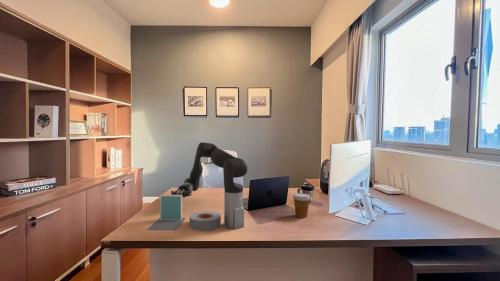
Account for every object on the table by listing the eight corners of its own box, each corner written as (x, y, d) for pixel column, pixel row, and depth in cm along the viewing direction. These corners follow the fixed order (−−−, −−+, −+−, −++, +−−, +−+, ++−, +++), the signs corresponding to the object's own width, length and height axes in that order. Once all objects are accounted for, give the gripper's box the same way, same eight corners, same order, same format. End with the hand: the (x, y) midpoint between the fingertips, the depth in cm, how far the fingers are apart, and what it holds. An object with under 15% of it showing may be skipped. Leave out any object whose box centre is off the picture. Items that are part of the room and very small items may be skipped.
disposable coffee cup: (290, 217, 143) (290, 195, 143) (295, 212, 152) (296, 192, 151) (307, 219, 139) (307, 197, 138) (311, 215, 147) (312, 194, 147)
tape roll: (187, 222, 133) (187, 212, 133) (216, 219, 139) (216, 209, 139) (191, 233, 119) (191, 222, 119) (224, 229, 125) (224, 218, 124)
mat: (186, 218, 139) (186, 217, 139) (176, 231, 121) (176, 230, 121) (160, 218, 139) (160, 217, 139) (146, 230, 121) (146, 229, 121)
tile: (182, 219, 136) (182, 194, 136) (181, 220, 135) (181, 195, 134) (161, 219, 137) (161, 194, 136) (160, 220, 135) (160, 195, 134)
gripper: (174, 183, 163) (165, 190, 146) (195, 184, 163) (188, 190, 145) (174, 195, 163) (165, 203, 146) (195, 196, 163) (188, 203, 146)
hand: (176, 196), depth 146 cm, fingers closed
